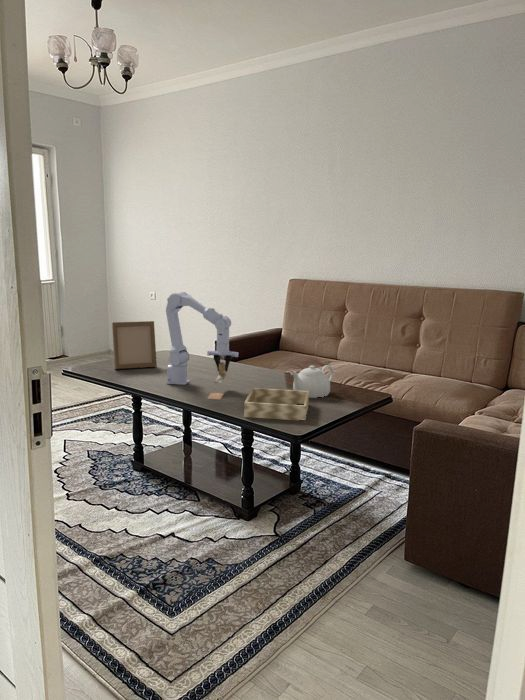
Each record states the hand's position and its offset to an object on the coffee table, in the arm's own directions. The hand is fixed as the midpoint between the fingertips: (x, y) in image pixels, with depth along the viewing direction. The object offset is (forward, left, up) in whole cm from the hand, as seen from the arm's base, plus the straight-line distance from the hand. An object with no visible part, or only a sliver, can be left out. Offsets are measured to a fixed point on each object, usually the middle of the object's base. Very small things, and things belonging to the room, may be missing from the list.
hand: (222, 370), depth 256 cm
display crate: (+30, -30, -8) cm, 43 cm away
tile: (0, -11, -9) cm, 14 cm away
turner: (0, -5, -3) cm, 6 cm away
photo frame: (-56, +34, -9) cm, 67 cm away
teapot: (+43, -1, -9) cm, 43 cm away
